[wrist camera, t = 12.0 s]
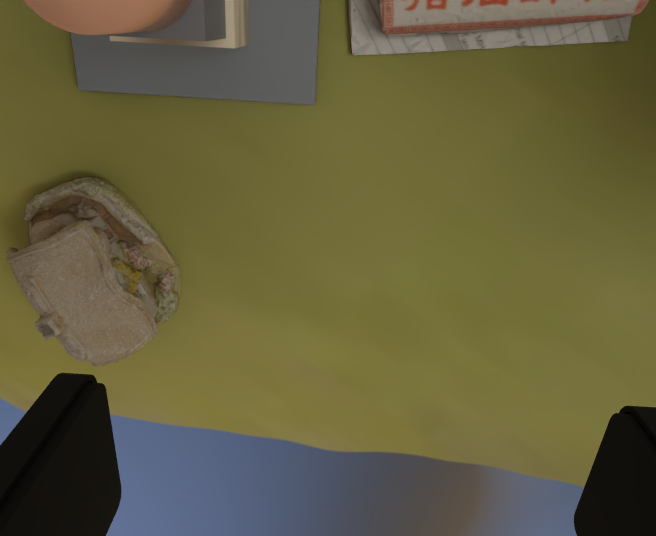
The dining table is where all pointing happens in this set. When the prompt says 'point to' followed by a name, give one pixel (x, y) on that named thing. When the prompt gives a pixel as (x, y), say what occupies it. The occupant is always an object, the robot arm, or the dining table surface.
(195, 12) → the charcoal block
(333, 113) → the dining table surface
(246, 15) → the birch block
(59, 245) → the stuffed bread roll
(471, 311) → the dining table surface
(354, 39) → the packaged product
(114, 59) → the slate mat
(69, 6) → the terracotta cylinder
